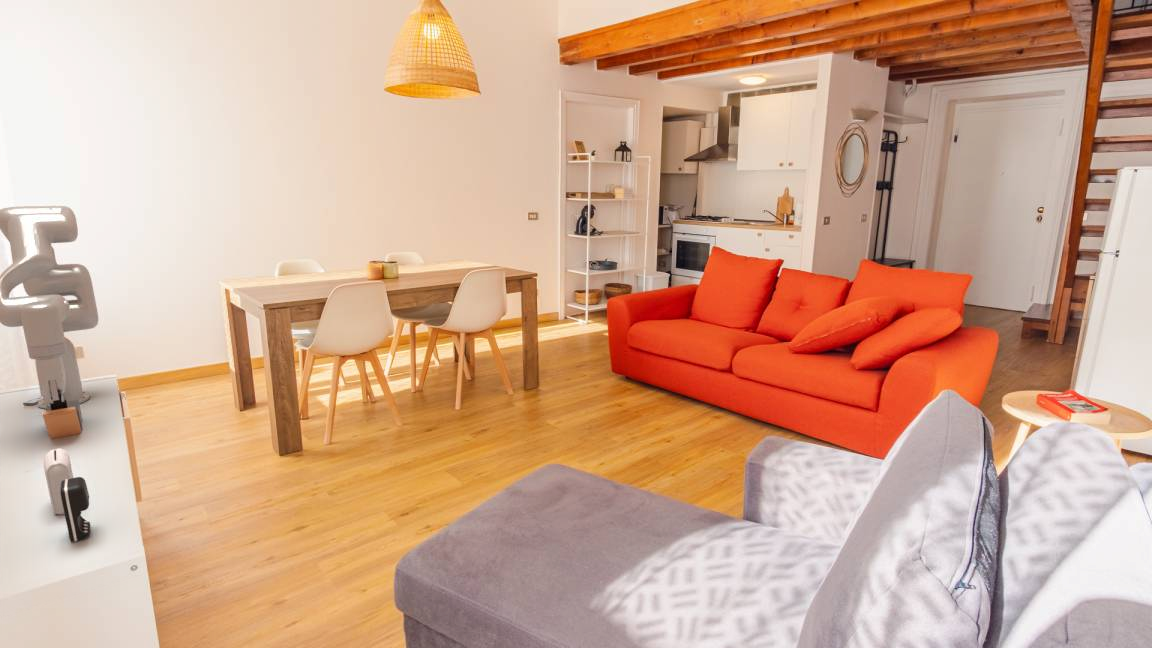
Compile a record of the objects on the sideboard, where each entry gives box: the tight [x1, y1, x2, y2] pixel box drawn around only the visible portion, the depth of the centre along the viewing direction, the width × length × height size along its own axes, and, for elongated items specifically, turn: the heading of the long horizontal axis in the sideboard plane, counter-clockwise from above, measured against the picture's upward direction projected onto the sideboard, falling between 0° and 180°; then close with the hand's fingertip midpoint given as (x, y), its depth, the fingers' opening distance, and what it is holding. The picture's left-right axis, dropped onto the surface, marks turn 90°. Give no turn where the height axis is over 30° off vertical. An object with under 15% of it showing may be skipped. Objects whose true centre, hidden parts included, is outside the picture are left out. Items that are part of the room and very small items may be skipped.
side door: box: [41, 407, 82, 440], centre depth 164 cm, size 1×7×12 cm
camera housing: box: [45, 400, 83, 432], centre depth 171 cm, size 10×7×8 cm
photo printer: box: [43, 448, 74, 515], centre depth 134 cm, size 10×4×12 cm, turn 39°
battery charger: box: [60, 476, 91, 543], centre depth 124 cm, size 7×4×11 cm, turn 37°
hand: (60, 415), depth 163 cm, fingers closed
